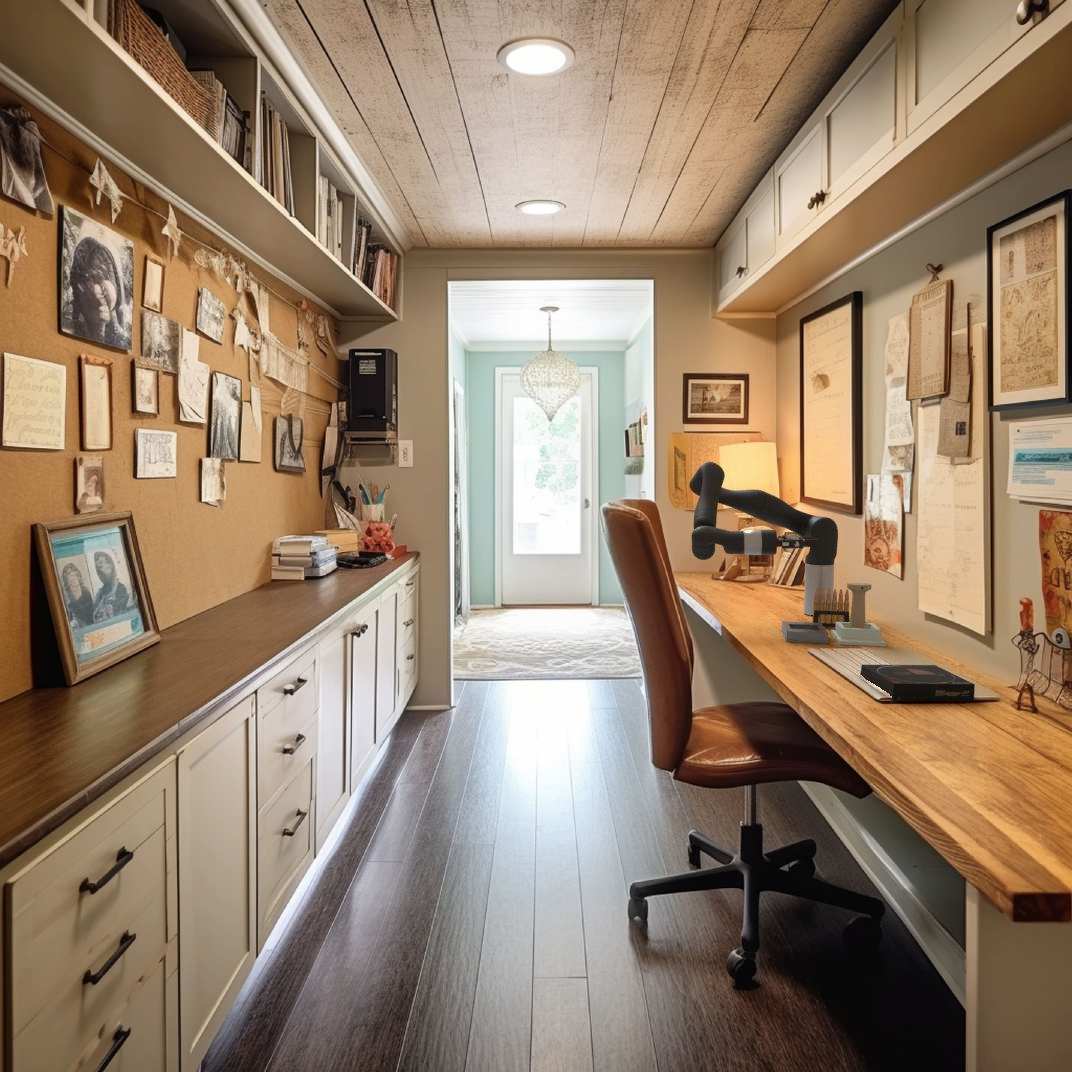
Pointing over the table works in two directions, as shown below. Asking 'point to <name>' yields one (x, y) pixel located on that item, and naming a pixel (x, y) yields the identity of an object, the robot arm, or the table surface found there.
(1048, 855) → the table surface
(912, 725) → the table surface
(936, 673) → the portable cd player
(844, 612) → the ammunition clip
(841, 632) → the grey shallow tray
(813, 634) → the socket block
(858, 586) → the handle
